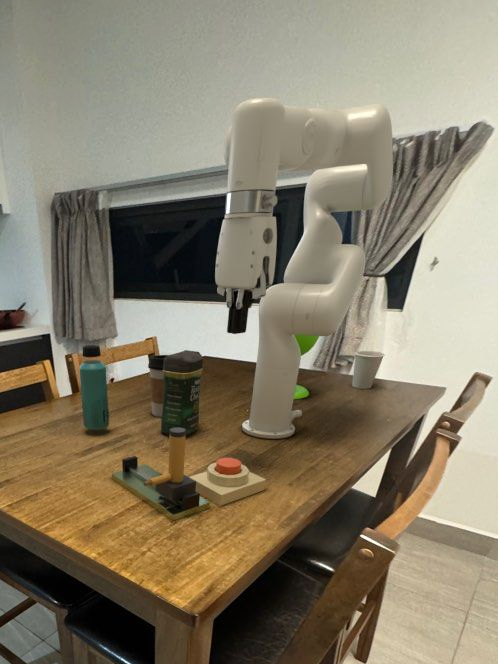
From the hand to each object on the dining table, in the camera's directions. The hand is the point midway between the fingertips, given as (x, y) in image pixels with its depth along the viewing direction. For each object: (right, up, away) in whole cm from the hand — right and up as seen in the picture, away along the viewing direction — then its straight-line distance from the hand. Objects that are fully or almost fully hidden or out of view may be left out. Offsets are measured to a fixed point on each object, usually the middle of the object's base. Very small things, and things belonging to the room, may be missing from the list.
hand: (236, 332), depth 81 cm
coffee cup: (-11, -3, +42) cm, 43 cm away
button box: (-1, -28, +3) cm, 28 cm away
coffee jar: (-7, -11, +30) cm, 32 cm away
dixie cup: (+55, +12, +63) cm, 84 cm away
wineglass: (+28, +8, +58) cm, 65 cm away
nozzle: (-13, -31, -4) cm, 34 cm away
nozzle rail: (-14, -29, +2) cm, 32 cm away
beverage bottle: (-28, -11, +31) cm, 43 cm away
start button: (-1, -25, +1) cm, 25 cm away
